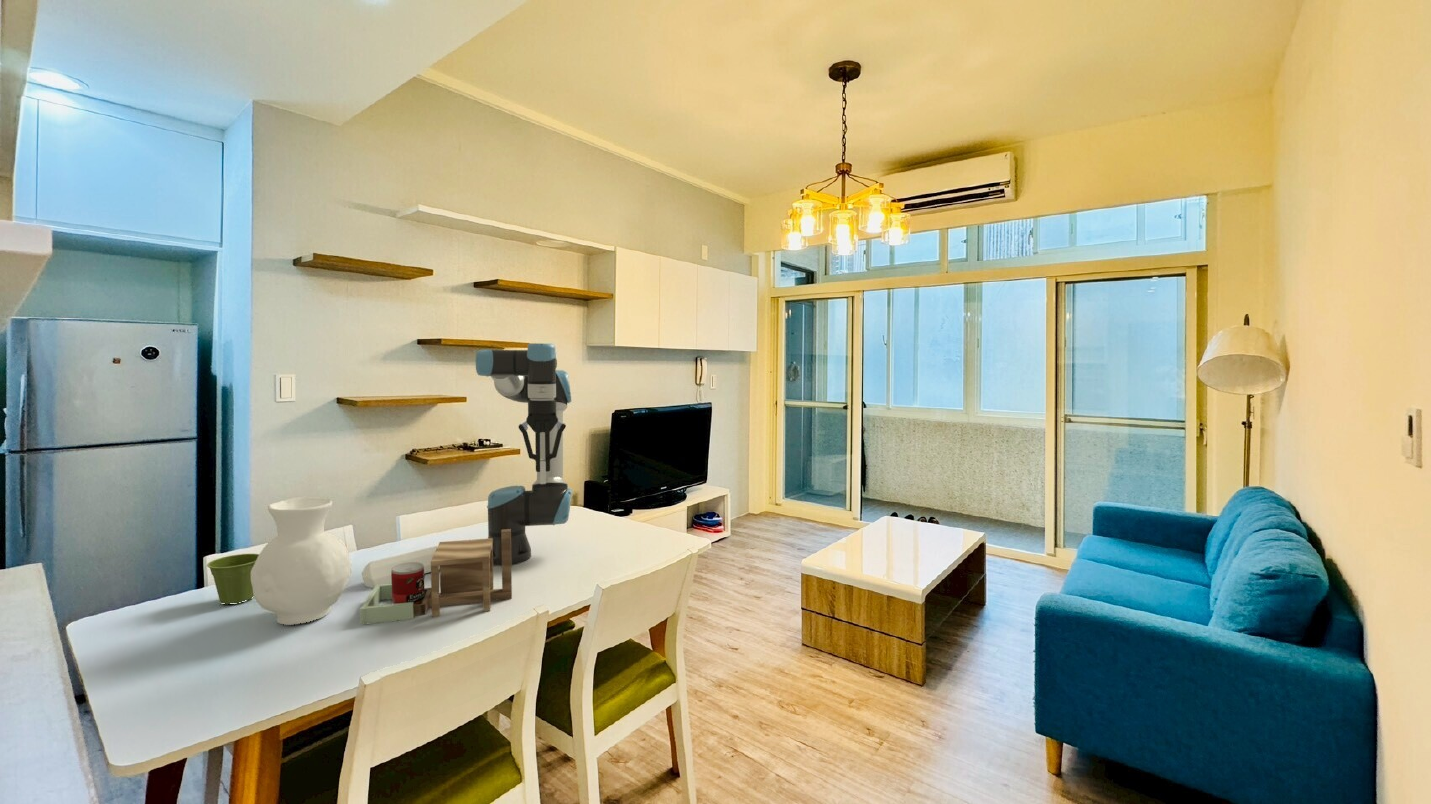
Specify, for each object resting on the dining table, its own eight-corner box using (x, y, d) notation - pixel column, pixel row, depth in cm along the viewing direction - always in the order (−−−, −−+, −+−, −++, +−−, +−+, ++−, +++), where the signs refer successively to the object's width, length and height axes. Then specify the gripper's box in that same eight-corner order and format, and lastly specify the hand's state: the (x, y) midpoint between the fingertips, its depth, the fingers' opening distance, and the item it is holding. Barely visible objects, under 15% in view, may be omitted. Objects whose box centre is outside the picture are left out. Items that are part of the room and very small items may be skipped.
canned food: (410, 614, 158) (409, 573, 157) (385, 611, 160) (383, 570, 159) (431, 603, 165) (430, 563, 164) (407, 599, 167) (405, 560, 166)
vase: (310, 638, 144) (304, 514, 142) (234, 630, 148) (227, 509, 146) (368, 606, 162) (364, 496, 160) (299, 599, 166) (294, 491, 164)
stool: (441, 592, 172) (439, 542, 171) (493, 587, 176) (492, 538, 175) (432, 617, 156) (430, 561, 155) (490, 610, 161) (488, 556, 159)
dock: (376, 598, 167) (376, 584, 167) (423, 594, 171) (423, 580, 170) (360, 624, 152) (360, 609, 151) (412, 619, 155) (412, 603, 155)
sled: (396, 599, 167) (394, 532, 165) (512, 588, 176) (511, 524, 174) (386, 618, 155) (384, 545, 154) (511, 605, 164) (510, 536, 163)
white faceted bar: (434, 550, 197) (354, 570, 178) (444, 543, 193) (362, 563, 174) (441, 572, 195) (360, 595, 176) (450, 566, 191) (369, 588, 172)
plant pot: (274, 596, 168) (272, 556, 167) (224, 613, 157) (222, 570, 156) (249, 589, 173) (247, 550, 172) (199, 604, 162) (197, 563, 161)
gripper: (517, 400, 163) (518, 487, 165) (567, 400, 166) (567, 484, 168) (517, 398, 170) (518, 481, 172) (565, 397, 174) (566, 479, 176)
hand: (543, 483), depth 170 cm, fingers closed
